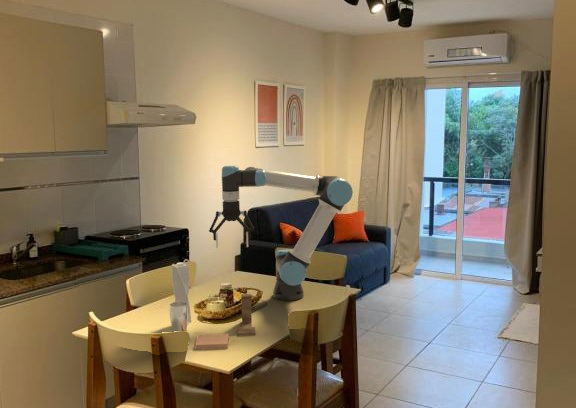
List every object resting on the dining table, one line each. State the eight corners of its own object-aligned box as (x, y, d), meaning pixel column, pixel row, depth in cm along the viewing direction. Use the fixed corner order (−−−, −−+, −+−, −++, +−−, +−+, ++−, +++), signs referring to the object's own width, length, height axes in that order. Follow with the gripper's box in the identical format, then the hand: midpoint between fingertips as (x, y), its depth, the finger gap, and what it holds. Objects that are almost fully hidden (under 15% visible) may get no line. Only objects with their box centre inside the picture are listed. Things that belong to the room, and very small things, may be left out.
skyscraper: (195, 321, 242) (192, 257, 237) (188, 327, 234) (185, 262, 230) (178, 320, 243) (175, 257, 239) (171, 326, 236) (168, 261, 232)
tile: (228, 333, 222) (227, 343, 212) (228, 339, 222) (227, 349, 212) (198, 334, 221) (195, 344, 211) (198, 340, 222) (195, 350, 212)
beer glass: (167, 340, 220) (165, 304, 218) (182, 336, 225) (180, 300, 223) (177, 345, 215) (175, 308, 213) (192, 340, 220) (191, 303, 218)
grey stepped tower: (238, 321, 240) (238, 294, 238) (255, 321, 241) (254, 293, 239) (237, 335, 224) (237, 306, 223) (255, 335, 225) (254, 305, 223)
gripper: (202, 202, 246) (203, 249, 249) (259, 200, 248) (260, 247, 251) (203, 199, 253) (205, 245, 257) (258, 198, 255) (259, 244, 258)
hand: (232, 246), depth 254 cm, fingers open, 13 cm apart
